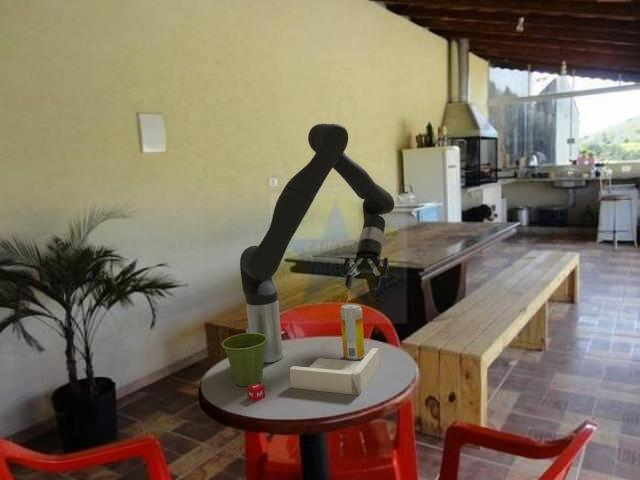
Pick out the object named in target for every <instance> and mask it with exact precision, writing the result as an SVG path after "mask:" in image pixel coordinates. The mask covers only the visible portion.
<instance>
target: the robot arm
mask: <svg viewBox="0 0 640 480" xmlns="http://www.w3.org/2000/svg"><path fill="white" fill-rule="evenodd" d="M307 140H308V144H309V147H310V149H311V150H312V151H313V152H314V155H313V157H312V158H311V160H310V161H309V162H308V163H307V164H306V165H305V166H304V167H303V168H302V169H301V170H299V171H298V172H297V173H296V174H295V175H294V176H293V177H292V178H290V179H289V181H287V183H286V185H284V188H283V189H282V191H281V193H280V195H279V196H278V198H277V200H276V202H275V206H274V210H273V213H272V216H271V217H272V218H271V223H270V224H269V228H268V231H266V234H265V235H264V237H263V239H262V240H261V241H260V243H259V244H258V245H251V246H248V247H247V248H246V249H244V250H243V252H242V253H241V255H240V257H239V269H240V270H239V271H240V277H241V286H242V291H243V294H244V298H245V304H246V305H245V306H246V315H247V322H248V325H247V327H246V329H245V333H259V334H263V335H265V336H267V341H266V342H265V349H264V360H263V364H269V363H274V362H278V361H279V360H281V359H283V357H284V354H283V340H282V331H281V330H282V329H281V319H280V309H279V307H280V306H279V296H278V290H277V289H276V286H275V284H274V282H273V276H274V275H275V274H276V272H277V271H278V269H279V267H280V265H281V263H282V260H283V257H284V255H285V253H286V250H287V249H288V246H289V244H290V242H291V240H292V239H293V237H294V235H295V234H296V232H297V230H298V228H299V226H300V224H301V223H302V221H303V220H304V218H305V216H306V214H307V213H308V211H309V209H310V207H311V205H312V204H313V202H314V201H315V198H316V196H317V194H318V192H319V191H320V189H321V187H322V186H323V184H324V182H325V180H326V179H327V177H328V175H329V174H330V172H331V171H332V170H334V171H335V172H336V173H337V174H339V176H340V177H341V178H342V179H343V180H344V181H345V182H346V184H347V185H348V186H349V187H350V188H351V190H352V191H353V192H354V194H355V195H357V197H358V198H359V199H361V200H363V202H362V212H363V225H362V230H361V233H360V236H359V239H358V245H357V249H356V252H355V253H356V254H355V255H356V256H355V258H354V259H351V258H349V257H348V256H347V257H345V258H344V263H343V266H342V270H341V274H342V276H343V277H344V278H346V279H345V282H344V284H345V287H346V288H347V289H348V290H352V289H351V288H352V283H353V279H354V278H355V276H358V275H359V274H360V273H361V274H364V273H367V274H371V273H374V275H375V276H374V282H373V289H374V290H375V291H378V289H380V286H381V282H382V279H387V278H388V277H389V272H390V271H389V270H390V261H389V258H388V257H384V258H383V259H381V255H382V248H383V245H384V234H385V228H386V219H385V218H384V217H383V215H386V214H389V213H391V212H392V211H393V210H394V208H395V200H394V197H393V196H392V195H391V193H390V192H389V191H387V190H386V189H385V188H383V187H381V186H380V185H379V184H377V183H376V182H375V181H374V179H373V178H372V177H371V176H370V175H369V173H368V172H367V171H366V169H364V168H363V167H362V166H361V165H359V164H358V162H356V161H354V160H353V159H352V158H351V157H350V156H349V155H347V154H346V153H345V150H347V149H346V148H347V146H348V144H349V132H348V130H347V129H346V127H345V126H344V125H342V124H337V123H317V124H315V125H314V126H312V127H311V128H310V130H309V133H308V136H307ZM380 265H381V266H382V272H380V271H379V269H378V267H379V266H380Z"/></svg>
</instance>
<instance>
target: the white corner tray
mask: <svg viewBox="0 0 640 480" xmlns="http://www.w3.org/2000/svg"><path fill="white" fill-rule="evenodd" d="M380 366H381V361H380V349H379V347H378V348H376V347H372V348H370V350H369V351H368V353H367V354H366V355H364V357H363V358H362V360H361V361H358V360H348V359H347V360H346V359H335V358H333V359H332V358H331V359H330V358H324V357H323V358H321V357H318V358H317V359H316V360H315V361H314V362H313V363H312V364H310V366H308V367H307V366H297V365H296V366H295V365H293V366H291V367H289V375H290V378H289V379H290V387H291V388H292V389H297V390H298V389H299V390H300V389H301V390H307V391H308V390H309V391H310V390H311V391H318V392H326V393H328V392H329V393H336V394H345V395H354V396H360V395H361V393H362V392H363V391H364V389H365V388H366V386H367V385H368V384H369V382H370V381H371V379H372V378H373V376H374V375H375V373H377V371H378V370H379V368H380Z"/></svg>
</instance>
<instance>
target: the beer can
mask: <svg viewBox="0 0 640 480" xmlns="http://www.w3.org/2000/svg"><path fill="white" fill-rule="evenodd" d="M340 324H341V339H342V353H343V356H344V357H345V359H346V358H347V360H348V359H349V360H348V361H358V360H361V359H364V357H365V354H366V353H365V350H366V349H365V339H364V322H363V308H362V307H361V304H358V303H346V304H343V305H341V307H340Z"/></svg>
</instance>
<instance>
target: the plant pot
mask: <svg viewBox="0 0 640 480" xmlns="http://www.w3.org/2000/svg"><path fill="white" fill-rule="evenodd" d="M266 341H267V336H265V335H263V334H259V333H246V332H244V333H240V334H235V335H232V336H228V337H227V338H225V339H224V340H223V341H222V342H221V347H222V348H223V349H224V352H225V354H226V356H227V359H228V363H229V365H230V370H231V373H232V376H233V379H234V383H235V385H238V386H240V387H248V386H250V385H253V384H255V383H261V382H262V380H263V377H264V375H263V373H264V363H263V360H264V349H265V342H266Z"/></svg>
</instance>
